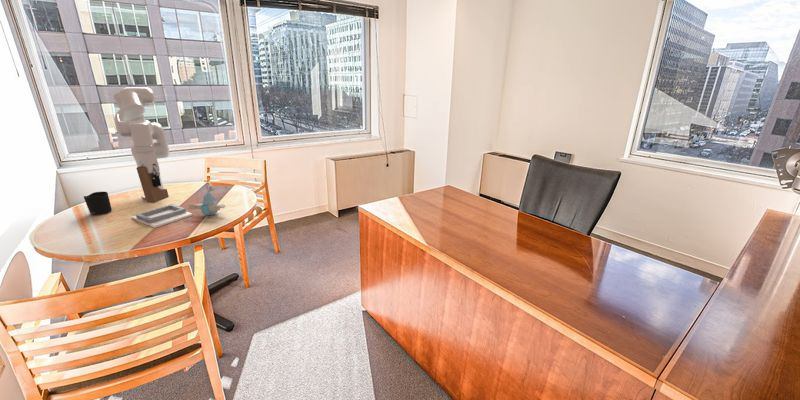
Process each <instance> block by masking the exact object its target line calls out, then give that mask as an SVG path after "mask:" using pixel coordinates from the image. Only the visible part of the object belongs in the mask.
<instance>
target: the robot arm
mask: <svg viewBox="0 0 800 400" xmlns="http://www.w3.org/2000/svg"><path fill="white" fill-rule="evenodd" d="M113 99H114V102H115V104H116V106H117V107H118V108H119V110H118V111H117V112H116V113H115V115H114V124H115V129H116V132H117V134H118V135H119V136H120V137H122V138H131V139H132V142H133V145H132V146H131V147H130V148H131V149H130V151H131V154H132V157H133V159H134V161H135V163H136V168H137V167H140V166H143V167H146V171H147V173H148V174H151V176H152V183H153V186H154V187H159V188H160V189H165V188H164V185H163V181H162V177H161V176H162V175H161V169H160V166H159V161H158V160H159V159H166V158H168V157H170V150H169V149H170V148H169V145H168V141H167V138H166V137H167V136H166V133H165V129H164V128H163V126H162V124H161V123H158V122H151V121H150V120H147V119H146V118H145V115H144V113H145V107H146V108H151V107H154V106H155V104H156V96H155V93H154V91H153V90H152V89H151V88H149V87H144V86H143V87H133V86H131V87H124V88H122V89H120V90H119V91H117V92H114V93H113ZM154 141H155V142H154ZM152 172H153V173H152ZM153 174H154V175H153ZM141 197H142V199H144V200H146V198H145V195H144V194H142V195H141Z"/></svg>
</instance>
